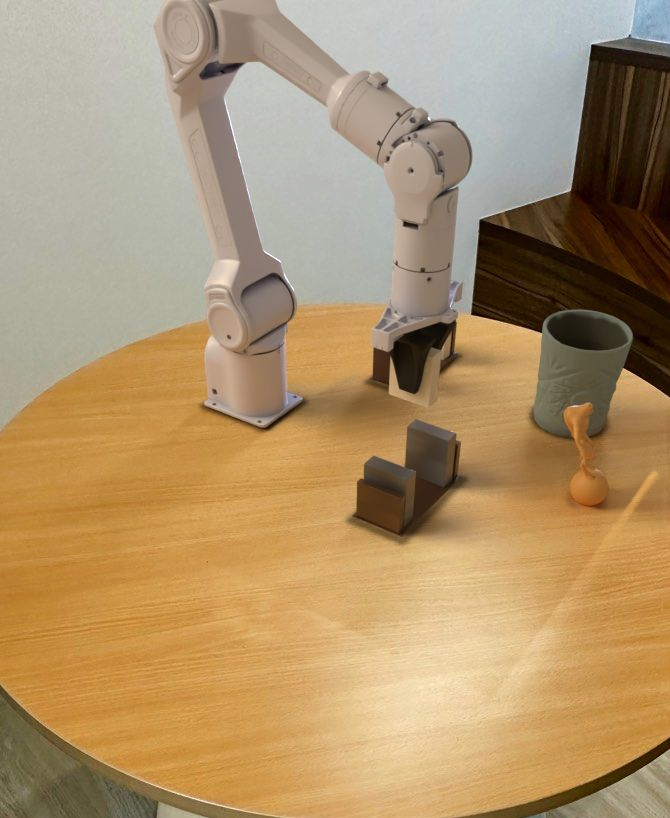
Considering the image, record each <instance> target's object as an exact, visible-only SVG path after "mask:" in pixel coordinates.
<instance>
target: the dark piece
mask: <svg viewBox="0 0 670 818" xmlns="http://www.w3.org/2000/svg"><path fill="white" fill-rule="evenodd" d="M457 325H458V322H457V321H456V326H455V327H454V329H453V330H452V332H451V333H450V335H449V336H448V338H447V340H446V342H445V343H444V345H443V347H442V350H441V362H440V371H441V370H442V369H444V368H445V367H446V366H447V365H448V364H450V363H451V362H452V361H453V360H455V359H456V358H457V357H458V352H456V351H455V347H456V339H457V338H456V337H457V336H456V335H457ZM372 349H373V350H372V376H370V377H369V378H368V379H369V380H371V381H374V382H376V383H381V384H383V385H386V386H389V378H390V358H391V356H390V354H389V352H387V351H384V350H380V349H377V348H374V347H372Z"/></svg>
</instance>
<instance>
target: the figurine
mask: <svg viewBox="0 0 670 818" xmlns="http://www.w3.org/2000/svg"><path fill="white" fill-rule="evenodd" d="M592 408H593V405H592V404H591V403H585V404H583V405H579V406H576V405H574V406H569V407H568V408H566V409H565V411H564V421H565V423H566V425H567V427H568V429H569V430H570V431H571V435H572V437H573V440H574V442H575V444H576V447H577V448H578V451H579V461H580V464H579V468H580V470H578V471H577V472H576V473H575V474H574V475H573V477H572V478H571V479H570V482H569V491H570V495H571V497H572V499H573V500H574V501H575V502H576V503H578V504H579V505H582V506H586V507H593V506H597V505H599V504H600V503H602V502H603V501H604V500H605V499H606V498H607V496H608V494H609V489H610V485H609V480H608V478H607V476H606V475H605V474H604V473H603V472H602V471H601V470H599V469H598V468H597V469H596V468H595V466H593V465H591V463H592V462H593V461H594V460H595V459H596V457H597V455H596V452H595V450H594V449H595V447H596V444H595V443H594V442H593V440H592V439H591V438H590V436H587V435H586V430H587V427H588V424H589V417H588V416H589V415H590V414H591V413H593V411H594V410H593V409H592Z"/></svg>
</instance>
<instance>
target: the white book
mask: <svg viewBox="0 0 670 818" xmlns="http://www.w3.org/2000/svg"><path fill="white" fill-rule="evenodd" d="M440 362H441V350H438V349H435V348H432V347H431V349H430V351H429V354H428V356H427V359H426V362H425V366H424V371H423V377H422V382H421V385H420V388H419V391H418V392H417V393H416V394H412V393H409V392H406V391H403V390H400V389H399V386H398V382H397V378H396V373H395V369H394V365H393V362H392V359H391V358H390V378H389V385H388V395H389V396H393V397H396V398H398V399H401V400H404V401H406V402H409V403H413V404H414V405H418V406H421V407H424V408H426V409H430V408H431V407H432V406H433V405H435V404H436V403H437V402H438V394H439V383H440V373H441V370H440Z"/></svg>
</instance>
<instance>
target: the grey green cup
mask: <svg viewBox="0 0 670 818" xmlns="http://www.w3.org/2000/svg"><path fill="white" fill-rule="evenodd" d="M541 330H542V331H541V340H540V355H539V363H538V372H537V382H536V392H535V396H534V397H535V398H534V404H533V418H534V421H535V423H536V424H537V426H539V427H540V428H541V429H542V430H543V431H546V432H548V433H550V434H553V435H556V436H559V437H564V438H570V439H571V438H573V437H572V435H571V431H570V430H569V429H568V427H567V425H566V423H565V421H564V411H565V409H566V408H568V407H569V406H574V405H576V406H579V405H583V404H585V403H591V404H592V405H593V408H592V409H593V410H594V411H593V413H591V414H590V415H589V416H588V417H589V424H588V427H587V430H586V435H587V436H588V437H591V436H594V435H596V434H598V433H599V432H600V431H601V430H603V428H604V425H605V424H606V421H607V417H608V415H609V411H610V408H611V402H612V399H613V396H614V394H615V392H616V390H617V383H618V381H619V378H620V377H621V374H622V372H623V369H624V366H625V364H626V361H627V357H628V355H629V352H630V349H631V346H632V344H633V340H634V335H633V332H632V330H631V327H630V326H628V325H627V324H626V322H624V321H623V320H621V319H619V318H617V317H615V316H614V315H610V314H607V313H604V312H600V311H595V310H589V309H567V310H561V311H557V312H554V313H552V314H551V315H549V316H547V317H546V319H544V320H543V323H542V329H541ZM573 439H574V438H573Z"/></svg>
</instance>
